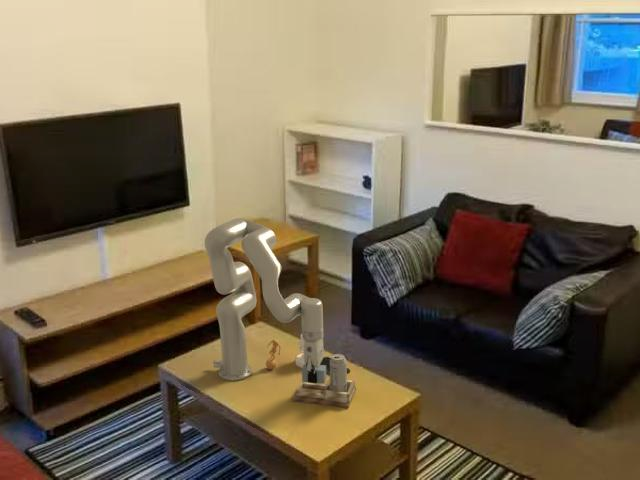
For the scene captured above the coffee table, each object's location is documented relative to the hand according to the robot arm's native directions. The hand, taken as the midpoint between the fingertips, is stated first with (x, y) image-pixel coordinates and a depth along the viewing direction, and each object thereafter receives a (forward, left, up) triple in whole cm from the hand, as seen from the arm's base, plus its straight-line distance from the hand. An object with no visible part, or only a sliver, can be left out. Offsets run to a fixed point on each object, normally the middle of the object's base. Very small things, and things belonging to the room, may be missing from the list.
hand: (314, 378), depth 254 cm
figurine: (-21, +16, -7) cm, 27 cm away
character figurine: (-9, +23, -7) cm, 25 cm away
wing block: (0, 0, 0) cm, 0 cm away
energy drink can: (+9, 0, -6) cm, 10 cm away
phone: (+1, +21, -7) cm, 22 cm away
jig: (+4, 0, -6) cm, 7 cm away
